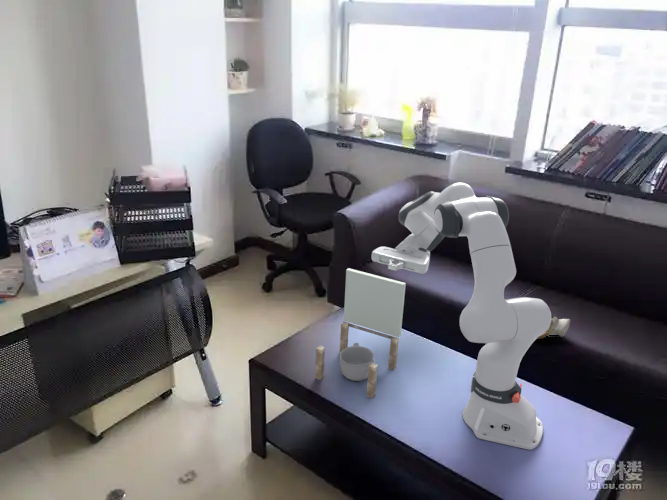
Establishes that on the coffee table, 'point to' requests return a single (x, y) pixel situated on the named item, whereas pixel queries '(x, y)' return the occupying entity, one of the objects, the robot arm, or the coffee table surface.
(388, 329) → the lid
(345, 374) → the teacup
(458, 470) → the coffee table surface
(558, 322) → the ceramic sculpture
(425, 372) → the coffee table surface
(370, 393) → the stand
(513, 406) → the robot arm
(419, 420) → the coffee table surface
